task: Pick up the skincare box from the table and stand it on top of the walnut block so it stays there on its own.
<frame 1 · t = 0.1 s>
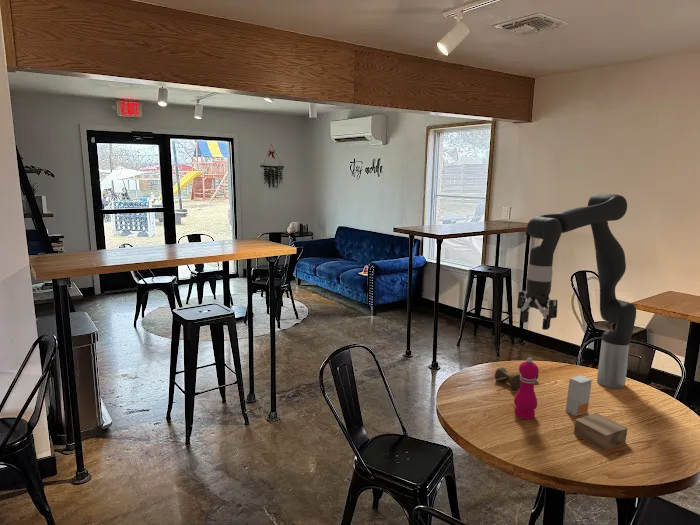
hand: (534, 325, 155), 29 cm above the table, tool pointing down, fingers open, 8 cm apart
walnut block: (599, 438, 142), on the table
skincare box: (576, 412, 158), on the table
kendama: (514, 384, 179), on the table
pepper mill: (524, 415, 155), on the table
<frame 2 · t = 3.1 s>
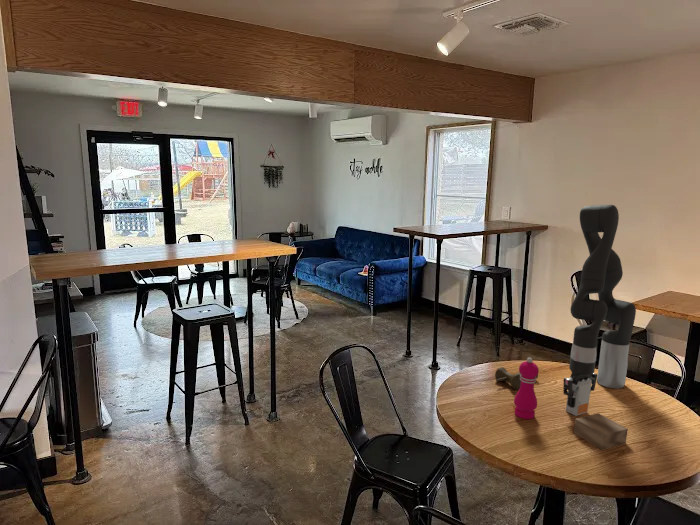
hand: (577, 404, 157), 3 cm above the table, tool pointing down, fingers closed on skincare box, 6 cm apart
skincare box: (576, 412, 158), on the table, touching gripper
everything else where it was.
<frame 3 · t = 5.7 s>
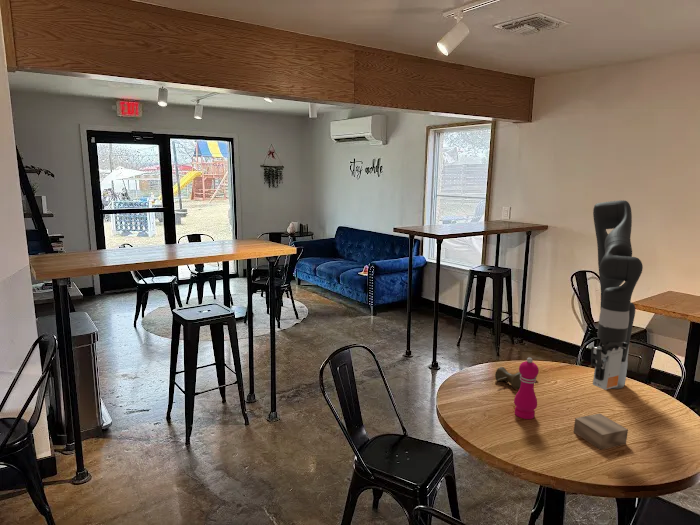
hand: (606, 377, 138), 19 cm above the table, tool pointing down, fingers closed on skincare box, 6 cm apart
skincare box: (605, 386, 139), point 17 cm above the table, touching gripper
everything else where it was.
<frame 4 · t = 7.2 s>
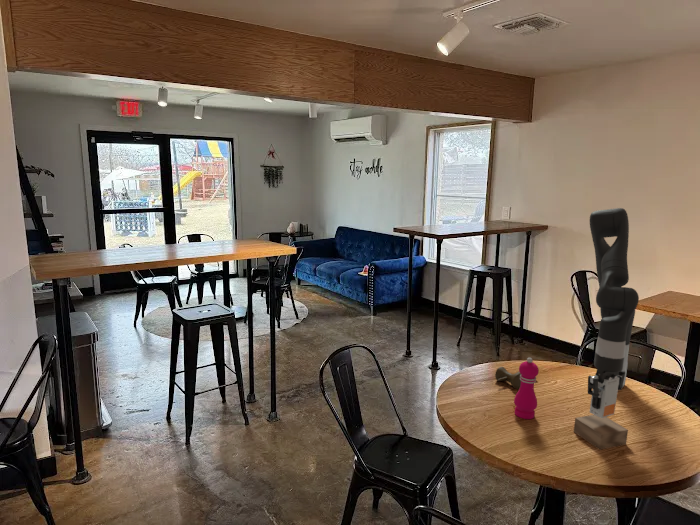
hand: (603, 405, 140), 11 cm above the table, tool pointing down, fingers closed on skincare box, 6 cm apart
skincare box: (601, 414, 140), point 8 cm above the table, touching gripper
when the fingers open (8 cm above the table, at t = 8.2 s): skincare box stays where it is, resting on walnut block.
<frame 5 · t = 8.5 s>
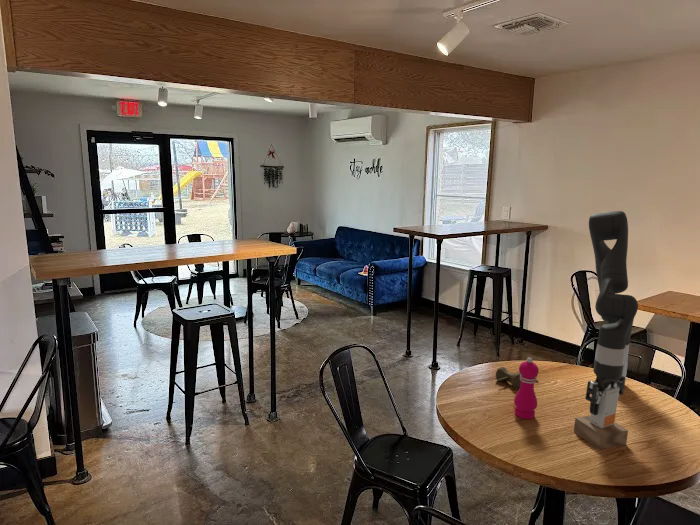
hand: (602, 411, 140), 9 cm above the table, tool pointing down, fingers open, 8 cm apart
walnut block: (599, 439, 142), on the table, touching skincare box
skincare box: (602, 424, 141), point 4 cm above the table, touching walnut block
everything else where it was.
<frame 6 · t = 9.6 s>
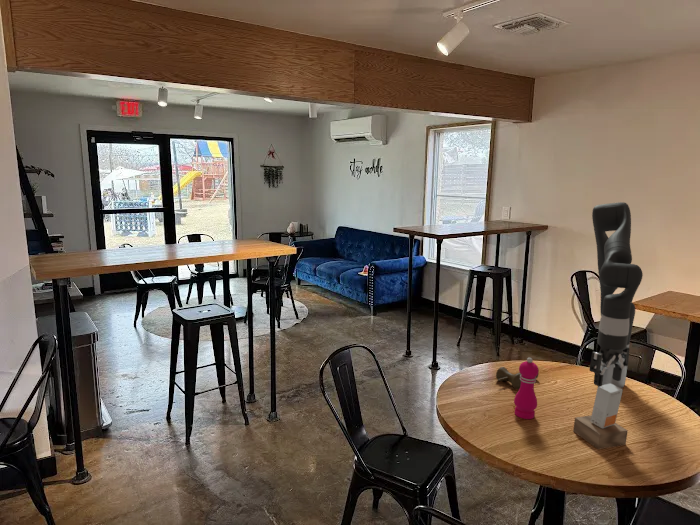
hand: (607, 382, 138), 18 cm above the table, tool pointing down, fingers open, 8 cm apart
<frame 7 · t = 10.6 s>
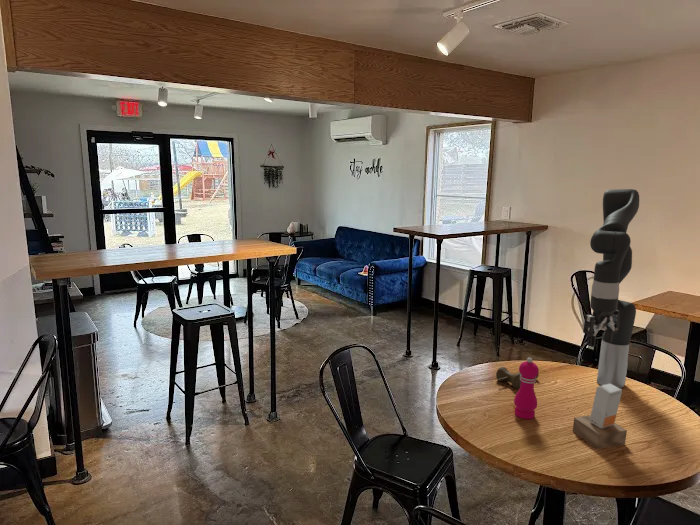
hand: (599, 343, 149), 26 cm above the table, tool pointing down, fingers open, 8 cm apart
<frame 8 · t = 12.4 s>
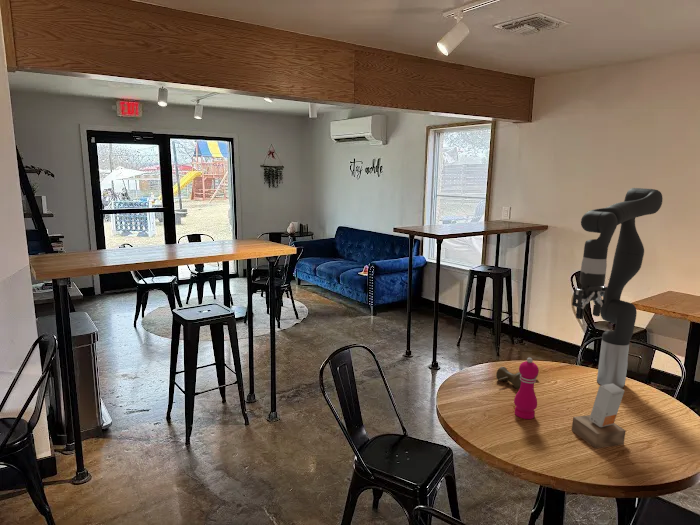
hand: (587, 317, 160), 31 cm above the table, tool pointing down, fingers open, 8 cm apart
walnut block: (596, 438, 142), on the table
skincare box: (601, 423, 141), point 5 cm above the table
at the end: skincare box inside the target area on the walnut block (1.0 cm from its centre), point 5.2 cm above the walnut block's base; skincare box tilted 8°; the gripper is holding nothing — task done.
